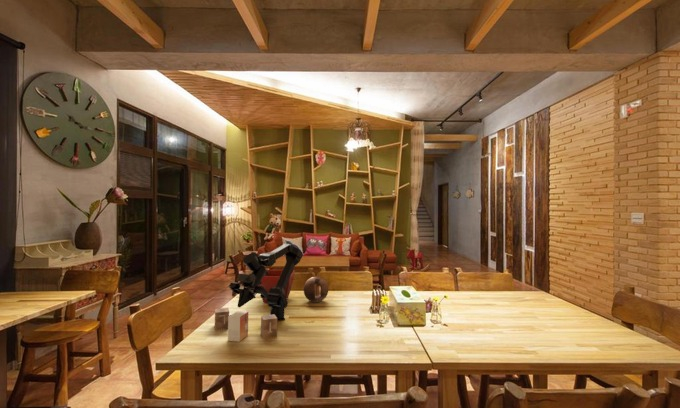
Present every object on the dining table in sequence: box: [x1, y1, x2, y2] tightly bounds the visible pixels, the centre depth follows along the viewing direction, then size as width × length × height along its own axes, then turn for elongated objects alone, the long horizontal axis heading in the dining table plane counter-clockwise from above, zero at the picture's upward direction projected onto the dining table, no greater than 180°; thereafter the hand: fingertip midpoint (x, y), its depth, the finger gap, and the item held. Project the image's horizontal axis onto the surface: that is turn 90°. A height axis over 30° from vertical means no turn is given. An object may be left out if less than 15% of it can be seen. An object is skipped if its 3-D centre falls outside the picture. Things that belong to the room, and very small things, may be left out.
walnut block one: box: [260, 314, 278, 339], centre depth 147 cm, size 6×6×8 cm
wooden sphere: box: [303, 276, 329, 303], centre depth 201 cm, size 15×15×15 cm
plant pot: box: [258, 269, 295, 304], centre depth 202 cm, size 19×19×17 cm
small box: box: [227, 310, 249, 343], centre depth 144 cm, size 8×6×10 cm
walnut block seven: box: [214, 307, 230, 331], centre depth 156 cm, size 6×6×8 cm
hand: (238, 306), depth 144 cm, fingers closed
